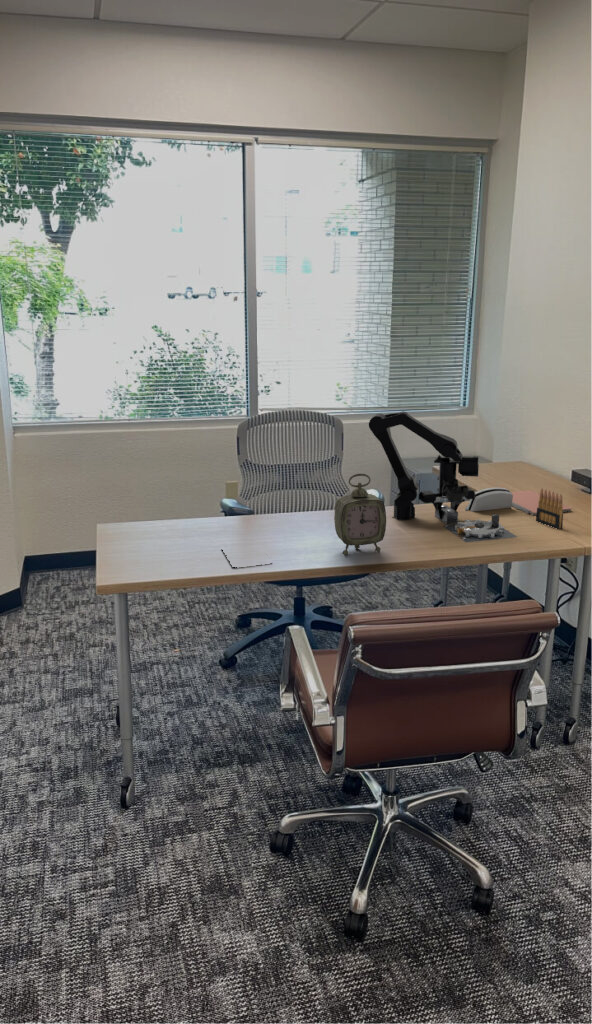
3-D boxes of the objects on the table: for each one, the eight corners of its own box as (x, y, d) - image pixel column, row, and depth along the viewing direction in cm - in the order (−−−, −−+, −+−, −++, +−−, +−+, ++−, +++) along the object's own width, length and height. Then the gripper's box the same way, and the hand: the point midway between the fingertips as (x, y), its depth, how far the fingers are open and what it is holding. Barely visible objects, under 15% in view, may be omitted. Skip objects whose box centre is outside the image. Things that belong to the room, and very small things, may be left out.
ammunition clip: (562, 528, 253) (565, 494, 249) (558, 529, 252) (561, 495, 249) (539, 520, 262) (542, 487, 259) (535, 521, 261) (537, 488, 258)
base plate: (466, 545, 239) (466, 542, 239) (442, 528, 256) (442, 525, 255) (517, 539, 243) (517, 536, 243) (490, 523, 260) (491, 521, 259)
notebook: (491, 498, 292) (491, 493, 292) (529, 494, 297) (530, 489, 296) (531, 517, 267) (531, 512, 267) (572, 513, 272) (572, 507, 271)
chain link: (446, 527, 257) (447, 512, 256) (434, 519, 266) (435, 504, 265) (457, 526, 258) (458, 511, 257) (445, 518, 267) (445, 503, 266)
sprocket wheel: (454, 537, 243) (455, 520, 242) (454, 522, 258) (455, 507, 256) (505, 539, 240) (506, 522, 238) (502, 524, 255) (503, 508, 253)
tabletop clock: (341, 558, 230) (340, 478, 223) (333, 548, 239) (332, 472, 232) (385, 553, 234) (386, 475, 226) (376, 544, 242) (376, 468, 235)
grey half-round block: (504, 505, 280) (510, 483, 275) (510, 513, 277) (517, 490, 271) (463, 510, 276) (469, 487, 270) (469, 517, 272) (475, 495, 267)
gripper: (431, 483, 248) (430, 528, 252) (483, 478, 252) (481, 523, 256) (418, 475, 258) (417, 518, 263) (468, 471, 262) (466, 514, 267)
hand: (446, 518), depth 262 cm, fingers closed on chain link, 4 cm apart
